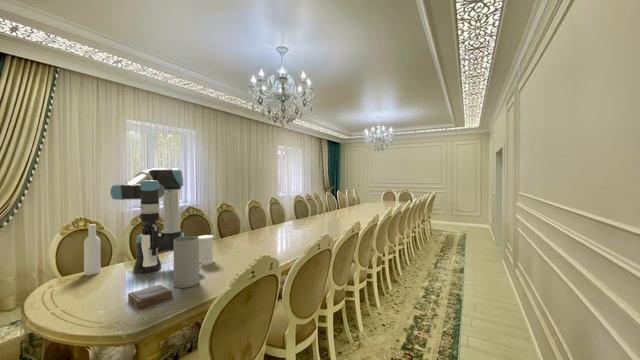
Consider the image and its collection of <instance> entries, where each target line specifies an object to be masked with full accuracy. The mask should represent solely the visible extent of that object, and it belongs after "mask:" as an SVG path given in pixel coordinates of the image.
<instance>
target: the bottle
mask: <svg viewBox="0 0 640 360" xmlns="http://www.w3.org/2000/svg"><path fill="white" fill-rule="evenodd" d="M87 229H88V236H87V237H86V238H85V239H84V240H83V241H84V242H83V275H84V274H85V275H84V276H94V275H97V273H98V274H100V273H101V269H102V267H101V266H102V265H101V238H100V236H98V235H97V225H96V224H95V223H91V224H88V226H87ZM93 274H94V275H93Z"/></svg>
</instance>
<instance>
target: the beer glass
mask: <svg viewBox="0 0 640 360" xmlns="http://www.w3.org/2000/svg"><path fill="white" fill-rule="evenodd" d="M141 234H142V233H141ZM141 245H142V251H143V256H144V261H143V267H150V266H155V265H157V264H158V262H153V263H150V249H149V248H151V247H150V235H145V233H144V234H142V241H141ZM157 251H158V247H157Z"/></svg>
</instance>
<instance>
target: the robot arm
mask: <svg viewBox="0 0 640 360" xmlns="http://www.w3.org/2000/svg"><path fill="white" fill-rule="evenodd" d="M183 176H184V175H183V173H182V170H181V169H179V168H171V167H170V168H156V167H155V168H148V169H145V170H142V171H140V172H138V173H136V175H135V176H134V177H133V178H132V179H130V180H128V181H126V182H125V183H123V184H120V183H118V184H113V185H112V186H111V187H110V197H111V199H113V200H117V201H118V200H120V201H123V200H124V201H126V200H140V206H139V209H140V213H141V214H140V222H142V224H141V227H142V228H141V229H142V230H141V234H139V235H137V236H136V240H135V241H136V242H135V246H136V248H135V249H136V251H135V252H136V259H135V262H134V265H133V268H132V272H133V273H134V274H146V273H153V272H156V271H158V270H161V268H162V262H161V260H160V257H159V253H165V252H166V253H167V252H174V239H176V238H180V237H185V233H184V232H182V229H181V228H180V227H179V225H180V224H179V222H180V221H179V220H180V219H179V192H180V190H181V189H182V187H183V186H184V177H183ZM161 198H163V199H162V203H163V204H162V205H163V229H162V230H161V231H160V229H159V228H160V227H159V226H158V225H157V224H156V222H158V221H159V220H160V199H161ZM143 222H144V223H143ZM159 231H160V233H159ZM144 233H145V235H150V247H151V248H149V249H150V263H153V262H158V264H157V265H155V266H150V267H143V261H144V256H143V251H142V245H141V241H142V234H144ZM157 247H158V251H157Z"/></svg>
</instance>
